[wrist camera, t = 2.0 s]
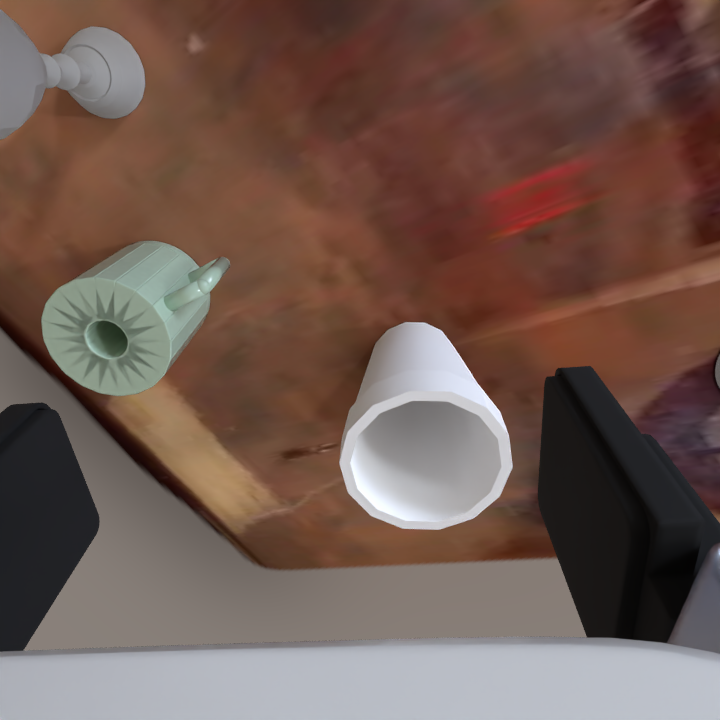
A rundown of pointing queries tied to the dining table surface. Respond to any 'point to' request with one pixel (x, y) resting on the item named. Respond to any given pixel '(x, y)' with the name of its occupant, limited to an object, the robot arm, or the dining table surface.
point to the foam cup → (423, 434)
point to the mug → (129, 316)
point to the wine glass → (717, 371)
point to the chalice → (67, 74)
